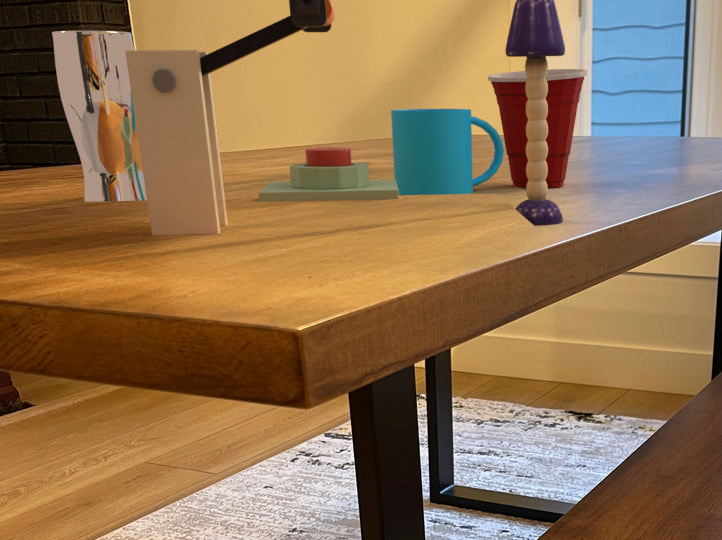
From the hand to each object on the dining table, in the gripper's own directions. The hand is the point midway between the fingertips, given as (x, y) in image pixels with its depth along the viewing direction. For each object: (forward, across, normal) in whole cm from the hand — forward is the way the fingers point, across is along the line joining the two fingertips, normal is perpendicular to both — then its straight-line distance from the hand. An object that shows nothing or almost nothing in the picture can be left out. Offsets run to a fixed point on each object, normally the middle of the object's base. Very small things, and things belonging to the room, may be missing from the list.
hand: (312, 29), depth 66 cm
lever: (+2, 0, -4) cm, 5 cm away
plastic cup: (+14, -41, +22) cm, 48 cm away
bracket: (+14, 0, -10) cm, 17 cm away
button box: (+14, -22, 0) cm, 26 cm away
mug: (+14, -36, +12) cm, 40 cm away
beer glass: (+14, -27, -20) cm, 37 cm away
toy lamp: (+14, -10, +16) cm, 24 cm away
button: (+10, -22, -1) cm, 24 cm away
